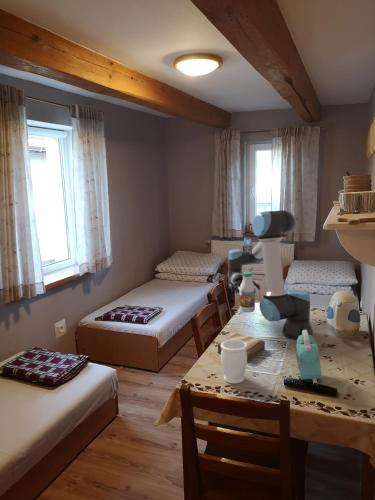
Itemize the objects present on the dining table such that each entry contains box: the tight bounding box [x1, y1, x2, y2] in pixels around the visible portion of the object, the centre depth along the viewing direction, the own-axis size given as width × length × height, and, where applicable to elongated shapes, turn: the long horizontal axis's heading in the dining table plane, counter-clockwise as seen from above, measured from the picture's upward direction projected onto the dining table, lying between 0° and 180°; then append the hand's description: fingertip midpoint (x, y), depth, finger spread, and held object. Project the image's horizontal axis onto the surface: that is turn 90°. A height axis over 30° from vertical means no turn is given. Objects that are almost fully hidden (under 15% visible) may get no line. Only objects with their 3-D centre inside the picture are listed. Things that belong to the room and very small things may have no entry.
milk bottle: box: [239, 271, 256, 313], centre depth 200 cm, size 8×8×20 cm
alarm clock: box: [296, 330, 323, 384], centre depth 157 cm, size 17×10×20 cm, turn 168°
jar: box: [220, 339, 248, 384], centre depth 159 cm, size 11×10×15 cm
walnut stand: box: [217, 332, 266, 363], centre depth 185 cm, size 16×16×5 cm
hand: (249, 292), depth 195 cm, fingers closed on milk bottle, 7 cm apart
